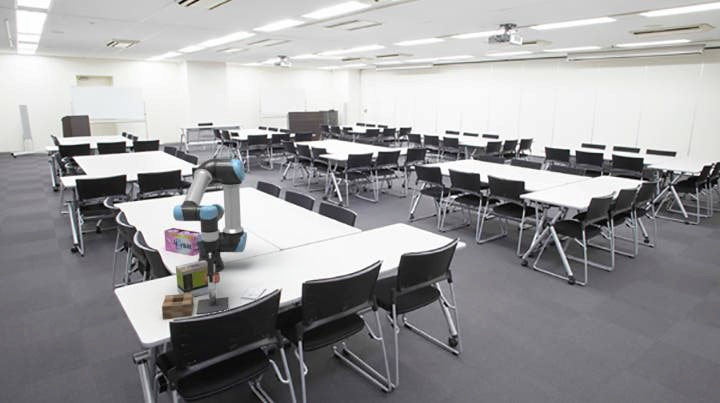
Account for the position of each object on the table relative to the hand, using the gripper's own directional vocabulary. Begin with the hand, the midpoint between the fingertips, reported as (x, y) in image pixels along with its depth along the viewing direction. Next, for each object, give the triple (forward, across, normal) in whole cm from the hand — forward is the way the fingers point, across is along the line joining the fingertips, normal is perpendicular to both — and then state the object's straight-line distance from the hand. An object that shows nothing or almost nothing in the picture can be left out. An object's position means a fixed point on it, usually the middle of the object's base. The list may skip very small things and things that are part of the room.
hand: (212, 282), depth 200 cm
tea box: (+12, -18, -9) cm, 24 cm away
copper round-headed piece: (+11, 0, 0) cm, 11 cm away
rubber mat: (+12, 0, 0) cm, 12 cm away
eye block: (+12, +2, -15) cm, 19 cm away
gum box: (+12, -83, -21) cm, 87 cm away
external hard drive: (+13, -9, +19) cm, 25 cm away
